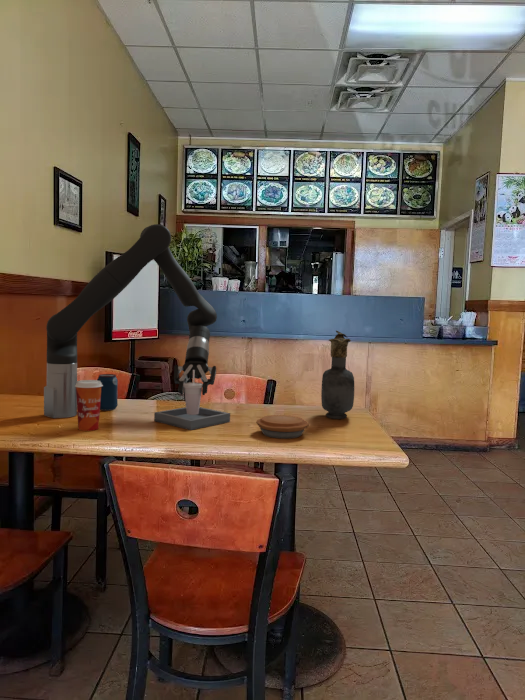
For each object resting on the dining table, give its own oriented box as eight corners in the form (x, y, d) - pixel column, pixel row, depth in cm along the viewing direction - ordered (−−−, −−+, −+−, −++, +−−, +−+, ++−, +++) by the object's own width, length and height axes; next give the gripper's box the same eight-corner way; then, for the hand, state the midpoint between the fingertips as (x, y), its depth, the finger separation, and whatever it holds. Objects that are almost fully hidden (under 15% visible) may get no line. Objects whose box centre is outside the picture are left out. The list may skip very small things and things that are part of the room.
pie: (272, 426, 165) (272, 410, 165) (316, 433, 157) (317, 416, 157) (245, 435, 152) (246, 418, 151) (293, 443, 144) (293, 425, 143)
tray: (190, 430, 155) (191, 420, 155) (154, 421, 166) (154, 412, 166) (229, 421, 168) (230, 413, 168) (193, 413, 179) (193, 405, 179)
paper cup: (76, 432, 148) (76, 383, 147) (72, 426, 155) (73, 380, 154) (105, 430, 152) (105, 382, 150) (100, 425, 158) (100, 379, 157)
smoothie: (204, 412, 170) (205, 369, 169) (200, 416, 164) (201, 371, 163) (185, 411, 171) (185, 368, 170) (180, 415, 164) (180, 371, 163)
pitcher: (321, 420, 174) (325, 331, 172) (319, 410, 193) (322, 329, 191) (354, 422, 174) (358, 332, 171) (348, 411, 193) (352, 330, 190)
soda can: (121, 408, 184) (121, 374, 183) (106, 411, 178) (106, 376, 178) (107, 406, 188) (108, 373, 187) (92, 409, 182) (92, 374, 181)
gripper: (174, 344, 173) (168, 385, 162) (218, 346, 173) (214, 387, 162) (177, 359, 179) (170, 399, 168) (219, 360, 179) (215, 400, 168)
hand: (192, 393), depth 165 cm, fingers closed on smoothie, 6 cm apart
